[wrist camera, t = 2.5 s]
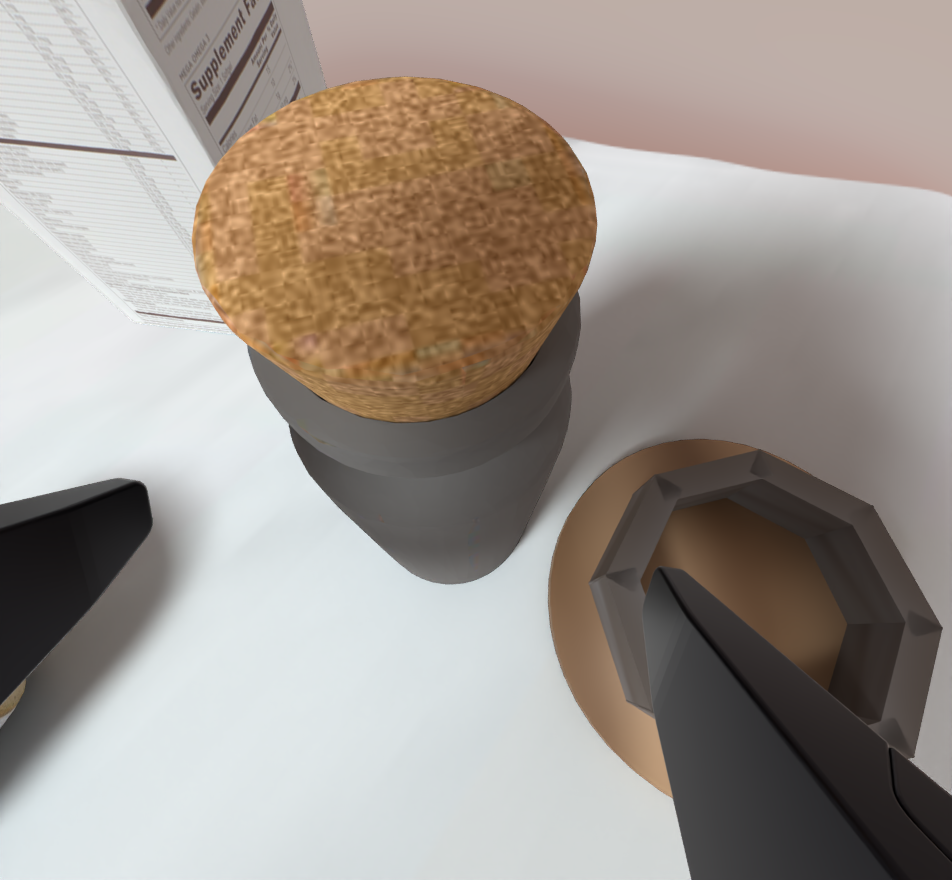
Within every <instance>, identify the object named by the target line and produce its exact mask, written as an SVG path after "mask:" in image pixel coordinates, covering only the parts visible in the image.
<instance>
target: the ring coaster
mask: <svg viewBox="0 0 952 880" xmlns="http://www.w3.org/2000/svg"><path fill="white" fill-rule="evenodd" d="M659 566H665V567H672V568H678V569H682V570H684V571H685V572H687V573H688V574H689V575H690V576H691V577H693V578H694V579H695V580H696V581H697V582H698V583H700V584H701V585H702V586H703V587H704V588H706V589H707V590H708V591H709V592H710V593H712V594H713V595H714V596H715V597H716V598H717V599H719V600H720V601H721V602H722V603H723V604H725V605H726V606H727V607H728V608H729V609H730V610H732V611H733V612H734V613H735V614H736V615H738V616H739V617H740V618H741V619H742V620H743V621H745V622H746V623H747V624H748V625H749V626H751V627H752V628H753V629H754V630H755V631H756V632H758V633H759V634H760V635H761V636H762V637H764V638H765V639H766V640H767V641H768V642H770V643H771V644H772V645H773V646H774V647H775V648H777V649H778V650H779V651H780V652H781V653H783V654H784V655H785V656H786V657H787V658H788V659H790V660H791V661H792V662H793V663H794V664H796V665H797V666H798V667H799V668H800V669H801V670H803V671H804V672H805V673H806V674H807V675H809V676H810V677H811V678H812V679H813V680H815V681H816V682H817V683H818V684H819V685H820V686H822V687H823V688H824V689H825V690H826V691H828V692H829V693H830V694H831V695H832V696H833V697H835V698H836V699H837V700H838V701H839V702H841V703H842V704H843V705H844V706H845V707H846V708H848V709H849V710H850V711H851V712H852V713H854V714H855V715H856V716H857V717H858V718H860V719H861V720H862V721H863V722H864V723H865V724H867V725H868V726H869V727H870V728H871V729H873V730H874V731H875V732H876V733H877V734H878V735H880V736H881V737H882V738H883V739H884V740H886V741H887V743H888V745H889V748H895V749H896V750H898V751H899V752H900V753H901V754H902V755H904V756H905V757H906V758H907V759H909V758H914V757H915V756H914V753H915V749H916V744H917V740H918V735H919V731H920V726H921V722H922V717H923V713H924V708H925V704H926V699H927V695H928V690H929V686H930V681H931V677H932V672H933V668H934V664H935V659H936V655H937V650H938V646H939V641H940V637H941V632H942V629H943V627H941V625H940V623H939V621H938V620H937V618H936V616H935V614H934V612H933V611H932V609H931V607H930V605H929V604H928V602H927V600H926V598H925V597H924V595H923V593H922V591H921V590H920V588H919V586H918V584H917V583H916V581H915V579H914V577H913V576H912V574H911V572H910V570H909V569H908V567H907V565H906V563H905V561H904V560H903V558H902V556H901V554H900V553H899V551H898V549H897V547H896V546H895V544H894V542H893V540H892V539H891V537H890V535H889V533H888V532H887V530H886V528H885V526H884V525H883V523H882V521H881V519H880V518H879V516H878V514H877V512H876V510H875V509H874V506H873V505H870V504H868V503H866V502H864V501H862V500H860V499H858V498H856V497H854V496H852V495H850V494H848V493H846V492H844V491H842V490H840V489H838V488H836V487H834V486H832V485H830V484H828V483H826V482H824V481H822V480H820V479H818V478H816V477H814V476H812V475H811V474H809V473H808V472H806V471H804V470H803V469H801V468H799V467H797V466H796V465H794V464H792V463H790V462H788V461H787V460H784V459H782V458H780V457H777V456H775V455H773V454H771V453H768V452H766V451H763V450H761V449H756V448H753V447H750V446H747V445H743V444H738V443H733V442H728V441H720V440H708V439H693V440H679V441H673V442H667V443H662V444H659V445H656V446H652V447H649V448H646V449H643V450H641V451H639V452H636V453H634V454H632V455H630V456H628V457H626V458H624V459H623V460H621V461H620V462H618V463H617V464H615V465H613V466H612V467H610V468H609V469H608V470H607V471H606V472H604V473H603V474H602V475H601V476H600V477H599V478H598V479H596V480H595V481H594V482H593V484H592V485H591V486H590V487H589V488H588V489H587V491H586V492H585V493H584V494H583V495H582V496H581V498H580V499H579V500H578V502H577V503H576V505H575V506H574V508H573V509H572V511H571V513H570V514H569V516H568V517H567V519H566V521H565V523H564V526H563V528H562V530H561V532H560V534H559V537H558V540H557V543H556V546H555V550H554V553H553V556H552V562H551V568H550V574H549V584H548V609H549V620H550V628H551V633H552V638H553V642H554V647H555V651H556V654H557V657H558V660H559V663H560V666H561V669H562V672H563V675H564V677H565V679H566V681H567V684H568V686H569V688H570V690H571V692H572V694H573V696H574V698H575V700H576V702H577V704H578V705H579V707H580V708H581V710H582V711H583V713H584V715H585V716H586V718H587V719H588V721H589V723H590V724H591V725H592V727H593V728H594V729H595V730H596V732H597V733H598V734H599V735H600V737H601V738H602V739H603V740H604V742H605V743H606V744H607V745H608V746H609V747H610V748H611V749H612V750H613V751H614V752H615V753H616V754H617V755H618V756H619V757H620V758H621V759H622V760H623V761H624V762H625V763H626V764H627V765H628V766H629V767H630V768H631V769H633V770H634V771H635V772H636V773H637V774H639V775H640V776H641V777H643V778H644V779H645V780H646V781H648V782H649V783H650V784H652V785H653V786H654V787H656V788H657V789H658V790H660V791H661V792H663V793H665V794H666V795H668V796H670V797H671V798H673V796H672V792H671V788H670V783H669V779H668V774H667V770H666V766H665V761H664V757H663V752H662V748H661V744H660V739H659V735H658V730H657V726H656V721H655V716H654V711H653V706H652V699H651V692H650V683H649V675H648V666H647V657H646V648H645V639H644V630H643V621H642V608H643V603H644V600H645V597H646V594H647V591H648V587H649V584H650V581H651V578H652V575H653V573H654V571H655V569H656V568H657V567H659Z"/></svg>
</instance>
